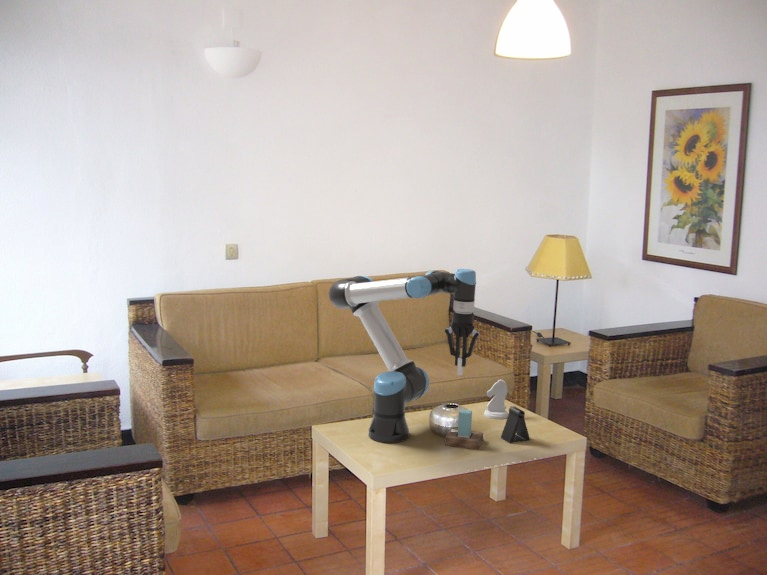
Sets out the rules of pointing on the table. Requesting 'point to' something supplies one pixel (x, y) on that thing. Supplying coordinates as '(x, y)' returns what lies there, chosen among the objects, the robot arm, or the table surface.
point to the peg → (464, 423)
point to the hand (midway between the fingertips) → (459, 374)
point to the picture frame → (515, 427)
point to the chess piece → (497, 401)
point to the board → (464, 440)
